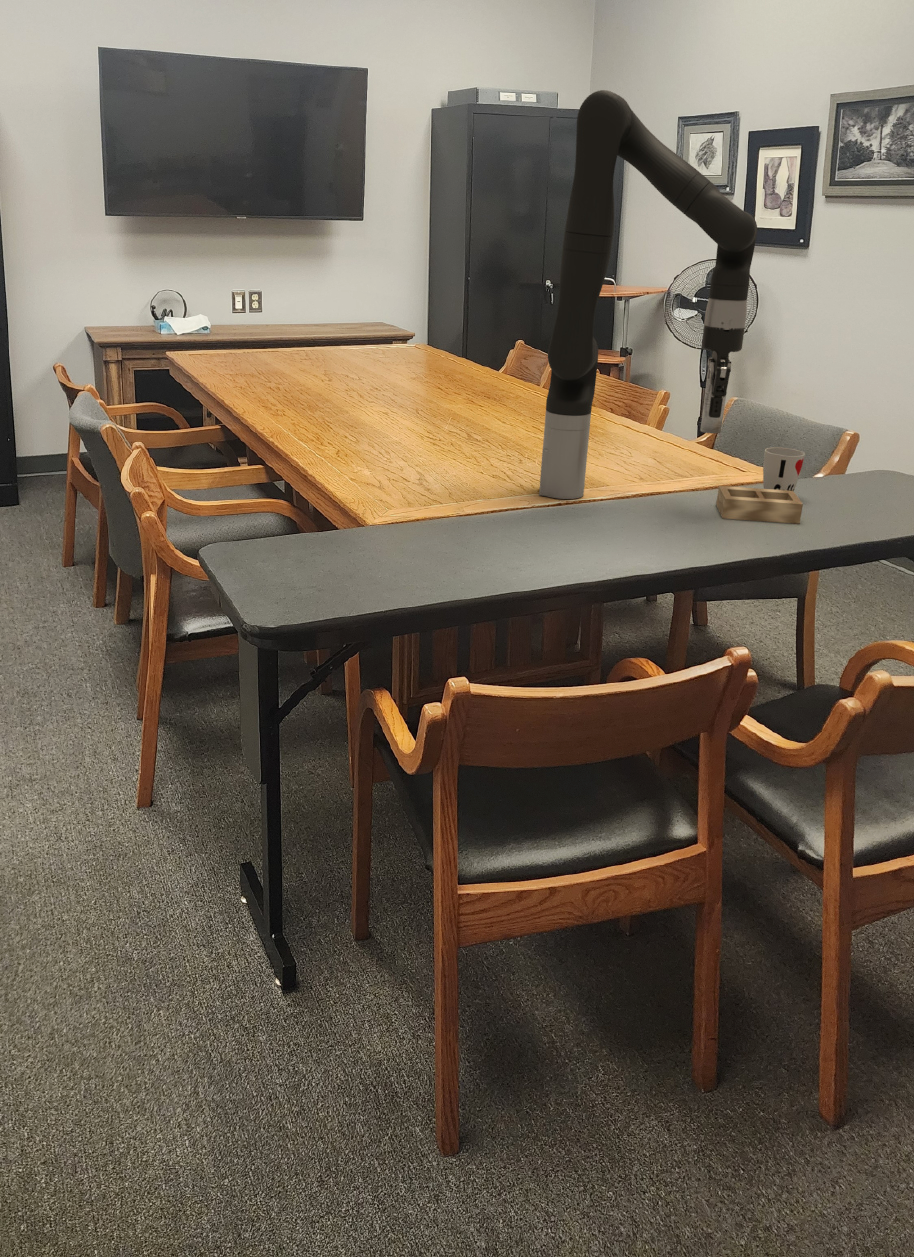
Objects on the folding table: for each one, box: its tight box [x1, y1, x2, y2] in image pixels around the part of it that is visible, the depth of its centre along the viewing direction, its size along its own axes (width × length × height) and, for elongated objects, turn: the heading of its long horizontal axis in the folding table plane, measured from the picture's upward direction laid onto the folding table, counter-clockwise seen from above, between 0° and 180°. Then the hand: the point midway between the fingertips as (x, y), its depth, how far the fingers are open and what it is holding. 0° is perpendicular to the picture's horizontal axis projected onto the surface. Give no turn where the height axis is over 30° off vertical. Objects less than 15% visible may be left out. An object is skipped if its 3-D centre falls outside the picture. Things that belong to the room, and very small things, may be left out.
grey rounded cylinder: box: [699, 377, 728, 435], centre depth 205 cm, size 4×4×10 cm
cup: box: [762, 447, 806, 492], centre depth 224 cm, size 8×8×10 cm
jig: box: [715, 485, 804, 525], centre depth 213 cm, size 15×10×4 cm, turn 85°
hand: (712, 414), depth 206 cm, fingers closed on grey rounded cylinder, 4 cm apart
